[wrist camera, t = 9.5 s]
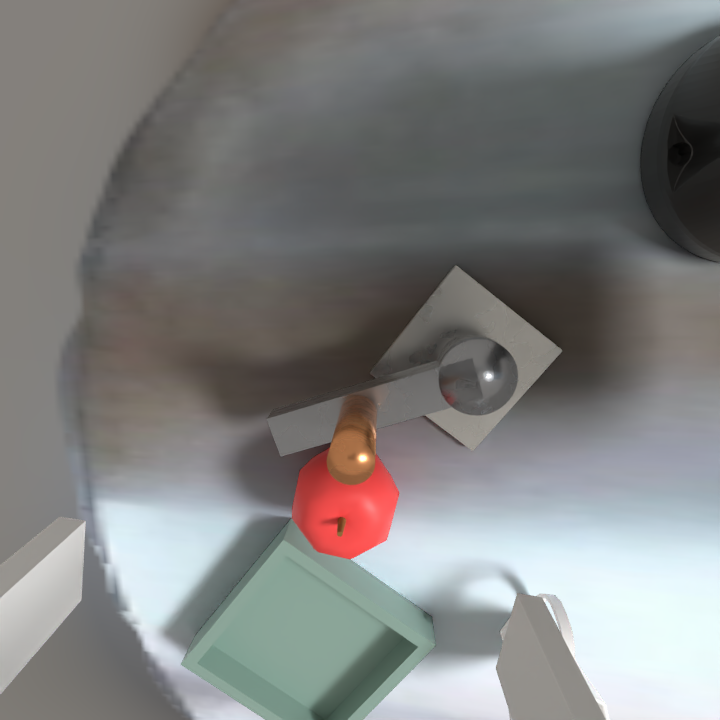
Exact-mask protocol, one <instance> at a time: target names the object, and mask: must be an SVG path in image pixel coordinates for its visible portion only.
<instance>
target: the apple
mask: <svg viewBox="0 0 720 720" xmlns="http://www.w3.org/2000/svg"><path fill="white" fill-rule="evenodd" d="M329 449H330V448H328V449H327V450H325V451H323V452H322V453H320V454H318V455H317V456H315V457H313V458H312V459H311V460H310V461H309V462H308V463H307V464H306V465H305V466H304V467H303V468H302V469H301V470H300V472H299V477H298V482H297V486H296V491H295V496H294V501H293V506H292V519H293V521H294V522H295V524H296V525H297V526H298V528H299V529H300V531H301V532H302V533H303V535H304V536H305V537H306V539H307V540H308V542H309V543H310V544H311V546H312V547H313V548H314V550H316V551H317V552H319V553H324V554H328V555H333V556H337V557H341V558H346V559H352V558H354V557H356V556H358V555H360V554H362V553H363V552H365V551H367V550H369V549H371V548H373V547H375V546H377V545H378V544H380V543H382V542H384V541H386V540H387V537H388V534H389V531H390V527H391V523H392V519H393V515H394V512H395V508H396V504H397V500H398V497H399V491H398V489H397V487H396V485H395V483H394V481H393V479H392V477H391V475H390V474H389V472H388V471H387V469H386V468H385V466H384V465H383V463H382V462H381V460H380V459H379V457H378V456H377V454H375V468H374V471H373V473H372V475H371V476H370V477H369V478H368V479H367V480H366V481H364V482H363V483H360V484H357V485H346V484H343V483H340V482H338V481H337V480H335V479H334V478H333V477H332V476H331V474H330V473H329V471H328V468H327V456H328V452H329Z"/></svg>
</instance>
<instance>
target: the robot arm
mask: <svg viewBox="0 0 720 720" xmlns="http://www.w3.org/2000/svg"><path fill="white" fill-rule="evenodd" d="M641 176H642V183H643V189H644V193H645V196H646V199H647V202H648V205H649V207H650V210H651V212H652V214H653V215H654V217H655V219H656V220H657V222H658V224H659V225H660V226H661V228H662V229H663V230H664V231H665V232H666V234H667V235H668V236H669V237H670V238H671V239H673V240H674V241H675V242H676V243H677V244H679V245H680V246H681V247H683V248H684V249H686V250H687V251H689V252H691V253H693V254H695V255H697V256H700V257H702V258H705V259H708V260H712V261H716V262H720V35H719V36H718V37H716V38H715V39H713V40H712V41H710V42H709V43H707V44H706V45H704V46H703V47H702V48H700V49H699V50H698V51H697V52H696V53H694V54H693V55H692V56H691V57H690V58H689V59H688V60H687V61H686V62H685V63H684V64H683V65H682V66H681V67H680V68H679V69H678V70H677V71H676V73H675V74H674V75H673V76H672V78H671V79H670V80H669V82H668V83H667V85H666V86H665V88H664V89H663V91H662V93H661V94H660V96H659V98H658V100H657V102H656V104H655V106H654V108H653V110H652V112H651V115H650V118H649V120H648V123H647V127H646V130H645V134H644V139H643V144H642V151H641ZM85 522H86V521H83V520H77V519H71V518H65V517H59V518H58V519H57V520H55V521H54V522H53V523H51V524H50V525H49V526H48V527H47V528H45V529H44V530H43V531H42V532H40V533H39V534H38V535H37V536H36V537H35V538H33V539H32V540H31V541H29V542H28V543H27V544H26V545H24V546H23V547H22V548H21V549H20V550H19V551H17V552H16V553H15V554H13V555H12V556H11V557H10V558H9V559H7V560H6V561H5V562H4V563H2V564H1V565H0V694H1V693H2V692H3V691H4V690H5V688H6V687H7V686H8V685H9V684H10V683H11V681H12V680H13V679H14V678H15V677H16V676H17V674H18V673H19V672H20V671H21V670H22V669H23V667H24V666H25V665H26V664H27V663H28V662H29V660H30V659H31V658H32V657H33V656H34V655H35V653H36V652H37V651H38V650H39V648H41V646H42V645H43V644H44V643H45V642H46V641H47V639H48V638H49V637H50V636H51V635H52V634H53V632H54V631H55V630H56V629H57V628H58V627H59V625H60V624H61V623H62V622H63V621H64V620H65V618H66V617H67V616H68V615H69V614H70V613H71V611H72V610H73V609H74V608H75V607H76V605H77V604H78V603H79V602H80V601H81V595H82V577H83V558H84V541H85ZM496 670H497V674H498V677H499V680H500V683H501V686H502V689H503V693H504V696H505V699H506V702H507V705H508V708H509V711H510V715H511V718H512V720H606V719H605V717H604V715H603V713H602V711H601V709H600V707H599V705H598V703H597V702H596V700H595V698H594V696H593V694H592V692H591V690H590V688H589V686H588V684H587V682H586V681H585V679H584V677H583V675H582V673H581V671H580V669H579V667H578V665H577V663H576V661H575V660H574V658H573V656H572V654H571V652H570V650H569V648H568V646H567V644H566V642H565V640H564V639H563V637H562V635H561V633H560V631H559V629H558V627H557V625H556V623H555V621H554V619H553V618H552V616H551V614H550V612H549V610H548V608H547V606H546V604H545V602H544V600H543V599H542V597H537V596H531V595H525V594H519V593H517V596H516V599H515V603H514V606H513V610H512V613H511V617H510V620H509V624H508V627H507V631H506V634H505V638H504V641H503V644H502V648H501V651H500V655H499V658H498V662H497V665H496Z"/></svg>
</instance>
